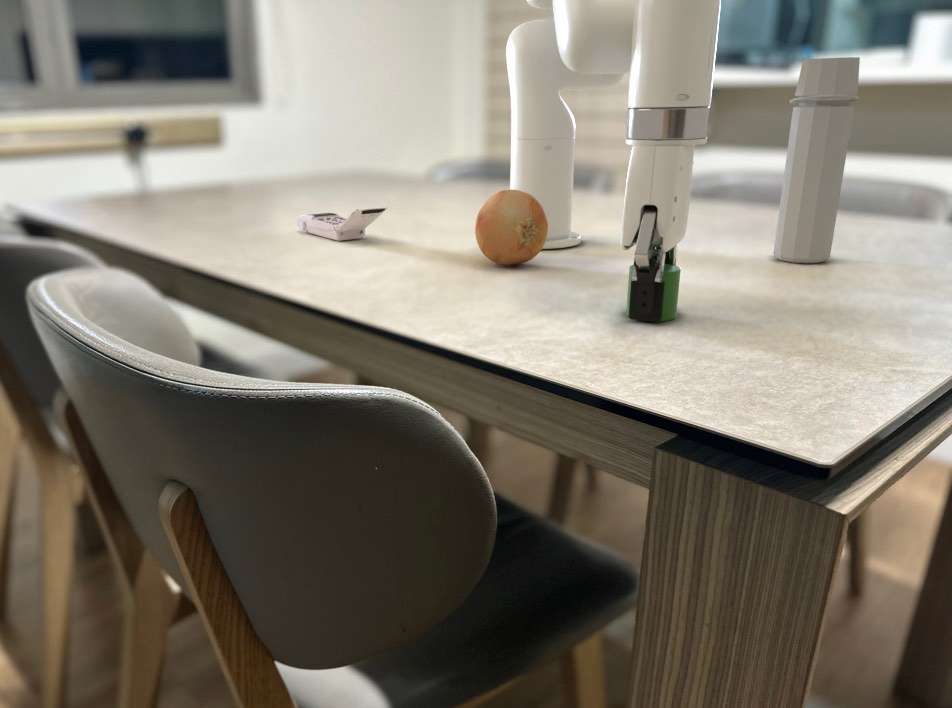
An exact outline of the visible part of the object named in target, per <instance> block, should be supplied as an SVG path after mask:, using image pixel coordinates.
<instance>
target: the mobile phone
mask: <svg viewBox="0 0 952 708" xmlns="http://www.w3.org/2000/svg"><path fill="white" fill-rule="evenodd" d="M388 208H389V206H386V207H378V208H376V207H375V208H367V209H366V208H365V209H359V208H356V209H355V210H353V212H351V213H350V214H349V216H348V217H347V218H346V217H343V216H340V214H338V213H335V212H321V213H310V214H309V213H308V214H300V215H296V226H297V227H298V228H299V229H300V230H302V231H303V233H307V234H311V235H316V236H319V237H322V238H326V239H330V240H334V241H338V242H343V241H351V240H359V239H363V238H364V237H365V234H366V228H367V227H368V226H370V225H371V224H372V223H373V222H374V221H375V220H377V219H378V218H379V217H380V216H381V215H382V214H383V213H384V212H386V211H387V210H388Z"/></svg>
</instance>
